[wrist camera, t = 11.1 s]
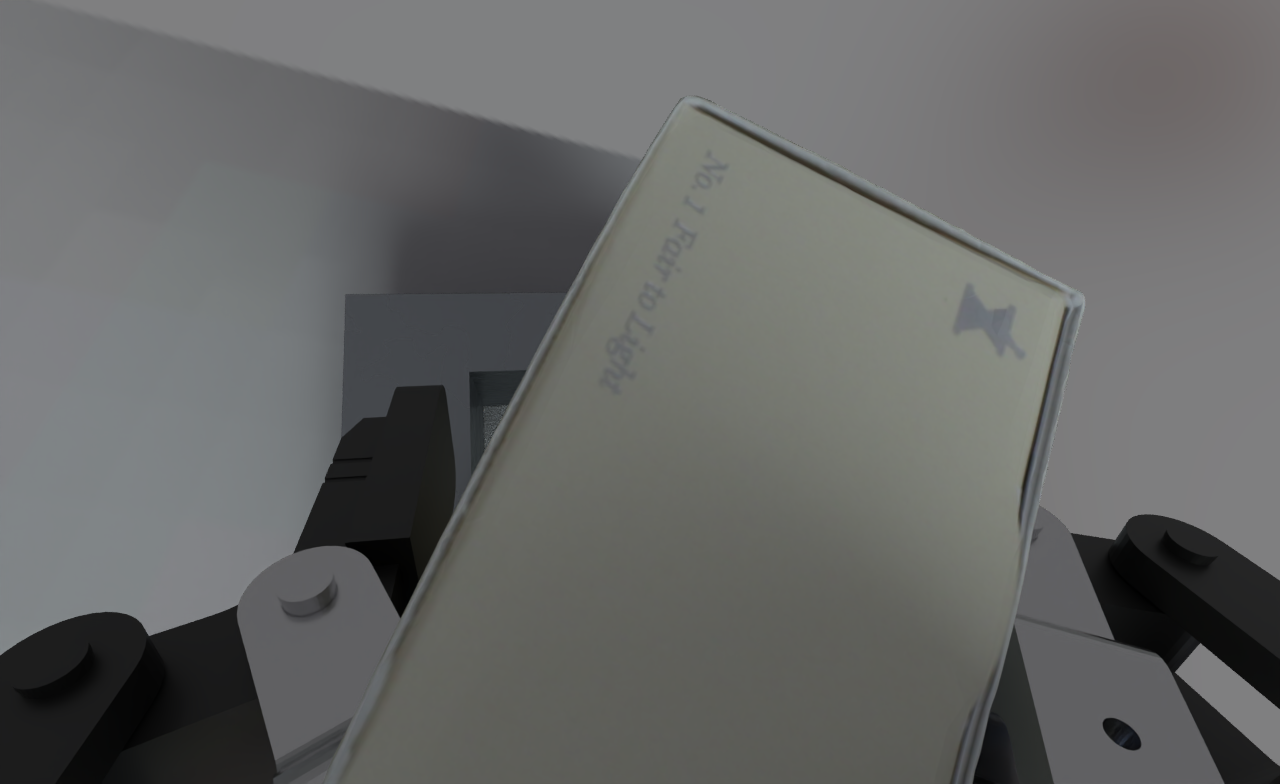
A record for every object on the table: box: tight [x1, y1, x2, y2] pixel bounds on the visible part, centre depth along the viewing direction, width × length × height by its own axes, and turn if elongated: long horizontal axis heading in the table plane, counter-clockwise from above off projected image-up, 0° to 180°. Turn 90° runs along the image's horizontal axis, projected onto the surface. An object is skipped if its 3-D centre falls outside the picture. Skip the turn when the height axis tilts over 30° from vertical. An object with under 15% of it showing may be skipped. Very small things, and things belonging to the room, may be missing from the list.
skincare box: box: [323, 96, 1085, 784], centre depth 10 cm, size 6×4×12 cm
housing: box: [342, 292, 568, 513], centre depth 20 cm, size 14×14×5 cm
